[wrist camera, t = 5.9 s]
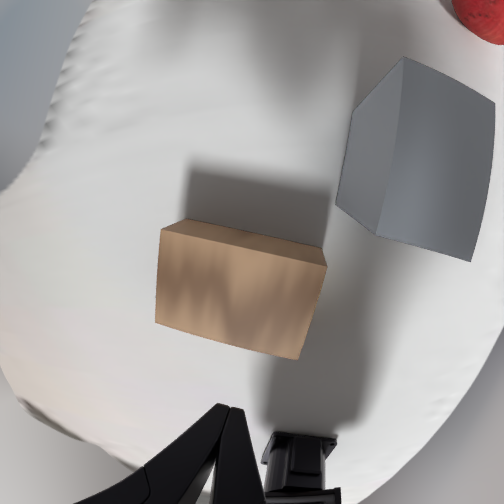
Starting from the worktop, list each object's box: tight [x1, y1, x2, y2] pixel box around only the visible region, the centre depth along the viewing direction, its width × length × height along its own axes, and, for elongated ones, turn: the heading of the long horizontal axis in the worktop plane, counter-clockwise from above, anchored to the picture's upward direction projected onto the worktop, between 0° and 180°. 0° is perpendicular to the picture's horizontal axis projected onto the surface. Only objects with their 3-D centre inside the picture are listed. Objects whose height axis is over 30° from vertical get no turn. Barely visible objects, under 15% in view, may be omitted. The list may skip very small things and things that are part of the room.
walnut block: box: [155, 219, 327, 360], centre depth 17 cm, size 6×4×9 cm
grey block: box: [335, 56, 495, 262], centre depth 11 cm, size 6×4×9 cm, turn 170°
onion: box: [452, 0, 504, 45], centre depth 7 cm, size 6×6×8 cm
